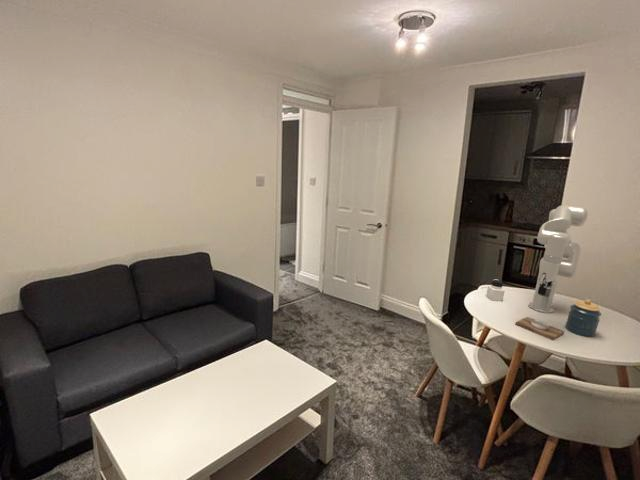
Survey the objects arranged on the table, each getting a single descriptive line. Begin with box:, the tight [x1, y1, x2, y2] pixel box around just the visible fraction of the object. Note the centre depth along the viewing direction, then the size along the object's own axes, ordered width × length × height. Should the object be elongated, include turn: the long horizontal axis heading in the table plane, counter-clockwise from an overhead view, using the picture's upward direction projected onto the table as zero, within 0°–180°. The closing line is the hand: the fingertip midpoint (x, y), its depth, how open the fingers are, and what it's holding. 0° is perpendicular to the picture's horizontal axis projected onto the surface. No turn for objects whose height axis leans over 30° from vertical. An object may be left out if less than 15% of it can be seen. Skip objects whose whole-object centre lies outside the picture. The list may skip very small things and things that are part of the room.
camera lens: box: [539, 285, 552, 297], centre depth 177 cm, size 5×5×5 cm
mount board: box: [515, 316, 565, 341], centre depth 181 cm, size 13×18×3 cm
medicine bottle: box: [485, 279, 505, 302], centre depth 217 cm, size 7×7×12 cm
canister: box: [565, 298, 602, 338], centre depth 181 cm, size 13×13×18 cm
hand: (544, 293), depth 178 cm, fingers closed on camera lens, 5 cm apart
